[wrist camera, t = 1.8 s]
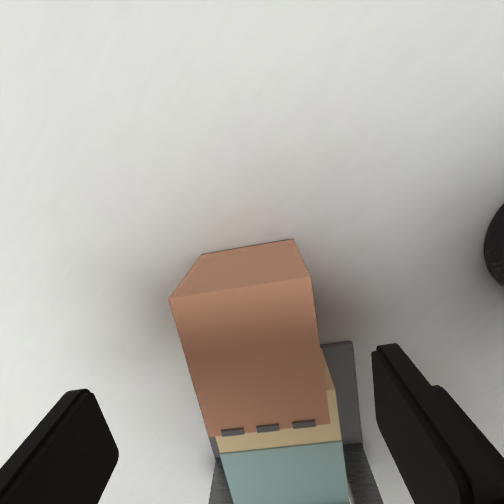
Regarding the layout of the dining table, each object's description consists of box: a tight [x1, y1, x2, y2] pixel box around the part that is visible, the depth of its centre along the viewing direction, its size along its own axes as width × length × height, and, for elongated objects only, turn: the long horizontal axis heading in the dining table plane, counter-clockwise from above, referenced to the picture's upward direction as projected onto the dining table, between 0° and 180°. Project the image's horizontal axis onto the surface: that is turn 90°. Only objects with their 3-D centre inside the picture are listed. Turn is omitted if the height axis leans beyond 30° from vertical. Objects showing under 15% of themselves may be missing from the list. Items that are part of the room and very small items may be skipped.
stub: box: [168, 239, 331, 437], centre depth 14 cm, size 7×6×6 cm
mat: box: [189, 341, 363, 460], centre depth 20 cm, size 12×11×1 cm
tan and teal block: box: [215, 348, 350, 504], centre depth 18 cm, size 11×7×4 cm, turn 11°
